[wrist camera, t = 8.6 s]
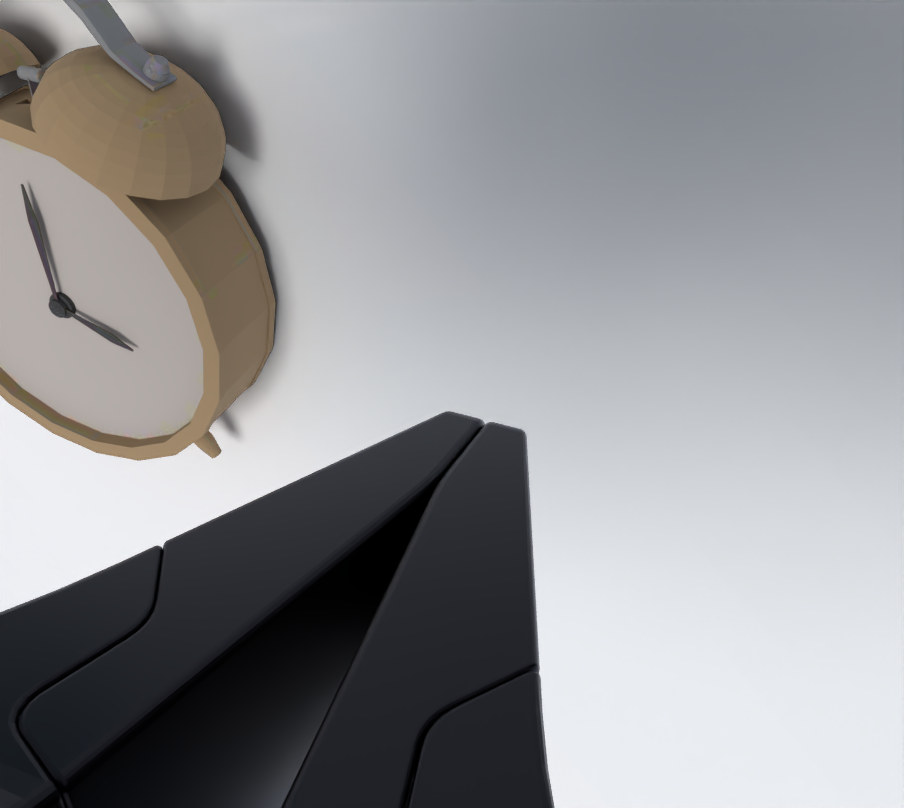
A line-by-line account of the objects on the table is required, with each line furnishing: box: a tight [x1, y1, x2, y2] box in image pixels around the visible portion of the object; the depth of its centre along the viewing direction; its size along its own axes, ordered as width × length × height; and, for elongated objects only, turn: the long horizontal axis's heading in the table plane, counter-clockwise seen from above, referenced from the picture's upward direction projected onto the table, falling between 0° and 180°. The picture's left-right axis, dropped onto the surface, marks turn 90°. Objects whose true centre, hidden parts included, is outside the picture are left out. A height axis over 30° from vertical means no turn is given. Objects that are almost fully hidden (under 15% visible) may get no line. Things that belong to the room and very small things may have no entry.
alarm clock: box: [0, 0, 276, 460], centre depth 24 cm, size 11×5×15 cm
